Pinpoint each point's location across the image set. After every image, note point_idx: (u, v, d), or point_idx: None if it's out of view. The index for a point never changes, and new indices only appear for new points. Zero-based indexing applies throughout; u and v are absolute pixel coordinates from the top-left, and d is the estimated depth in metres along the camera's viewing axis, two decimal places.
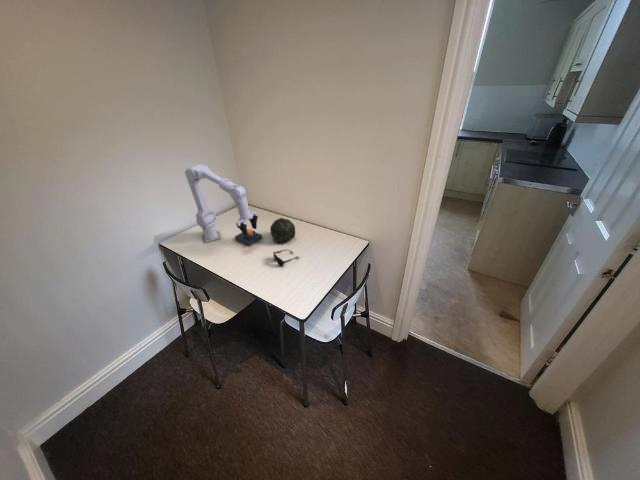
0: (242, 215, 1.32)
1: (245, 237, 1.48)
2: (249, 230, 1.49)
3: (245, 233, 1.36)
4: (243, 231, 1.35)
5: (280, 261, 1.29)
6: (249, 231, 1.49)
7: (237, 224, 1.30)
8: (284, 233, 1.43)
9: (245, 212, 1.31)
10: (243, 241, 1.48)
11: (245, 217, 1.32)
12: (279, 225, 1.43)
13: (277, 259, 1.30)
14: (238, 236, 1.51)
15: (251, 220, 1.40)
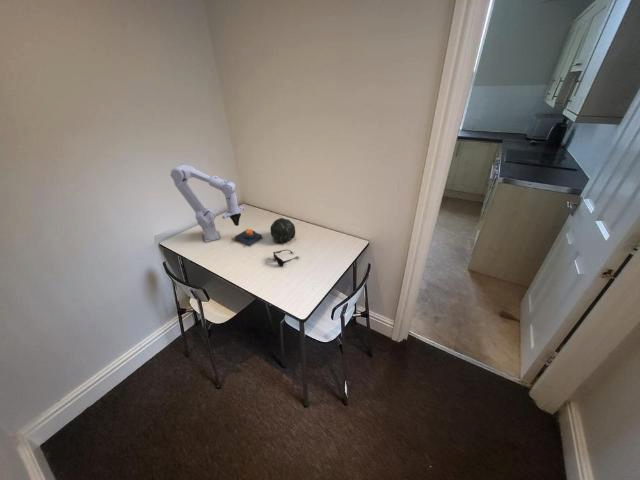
0: (230, 209, 1.40)
1: (245, 237, 1.48)
2: (249, 230, 1.49)
3: (235, 223, 1.47)
4: (234, 221, 1.47)
5: (280, 261, 1.29)
6: (249, 231, 1.49)
7: (223, 217, 1.39)
8: (284, 233, 1.43)
9: (233, 207, 1.39)
10: (243, 241, 1.48)
11: (232, 211, 1.41)
12: (279, 225, 1.43)
13: (277, 259, 1.30)
14: (238, 236, 1.51)
15: None
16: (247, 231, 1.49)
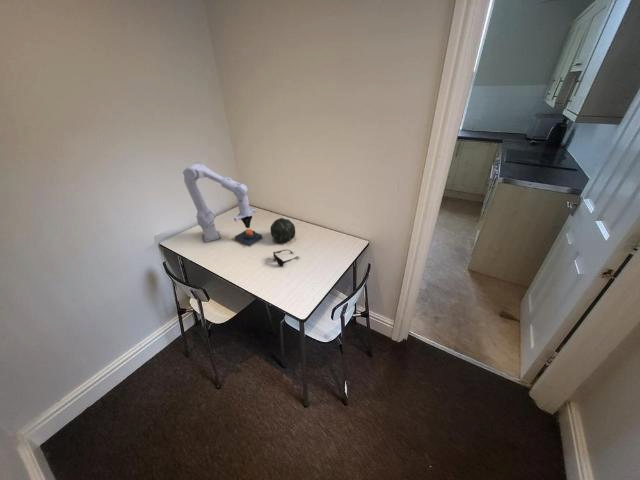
0: (241, 211, 1.39)
1: (245, 237, 1.48)
2: (249, 230, 1.49)
3: (246, 226, 1.46)
4: (245, 223, 1.46)
5: (280, 261, 1.29)
6: (249, 231, 1.49)
7: (235, 219, 1.38)
8: (284, 233, 1.43)
9: (244, 209, 1.39)
10: (243, 241, 1.48)
11: (244, 214, 1.40)
12: (279, 225, 1.43)
13: (277, 259, 1.30)
14: (238, 236, 1.51)
15: None
16: (247, 231, 1.49)
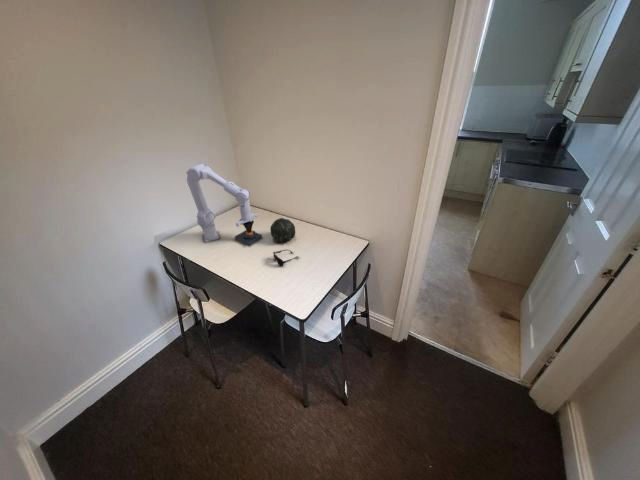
0: (243, 217, 1.41)
1: (245, 237, 1.48)
2: None
3: (248, 230, 1.48)
4: (247, 228, 1.48)
5: (280, 261, 1.29)
6: None
7: (237, 224, 1.40)
8: (284, 233, 1.43)
9: (246, 214, 1.40)
10: (243, 241, 1.48)
11: (245, 219, 1.42)
12: (279, 225, 1.43)
13: (277, 259, 1.30)
14: (238, 236, 1.51)
15: None
16: (247, 232, 1.49)
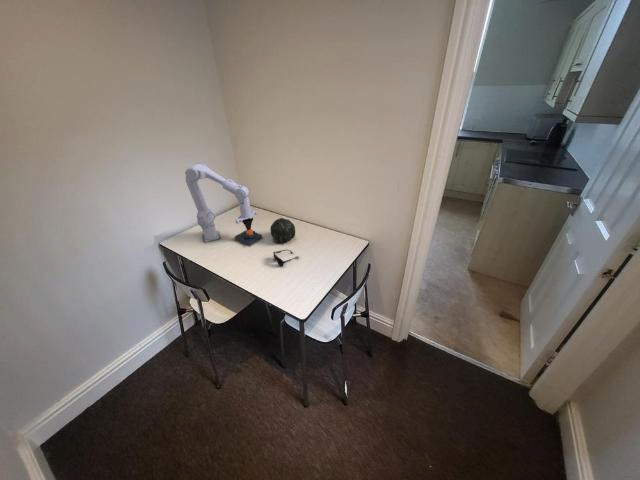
0: (242, 214, 1.40)
1: (245, 237, 1.48)
2: (249, 230, 1.49)
3: (247, 228, 1.47)
4: (246, 225, 1.47)
5: (280, 261, 1.29)
6: (249, 231, 1.49)
7: (236, 221, 1.39)
8: (284, 233, 1.43)
9: (246, 212, 1.39)
10: (243, 241, 1.48)
11: (245, 216, 1.41)
12: (279, 225, 1.43)
13: (277, 259, 1.30)
14: (238, 236, 1.51)
15: None
16: (247, 231, 1.49)
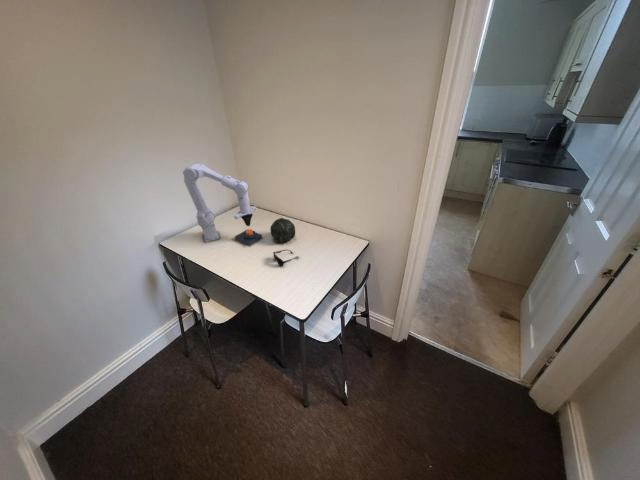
0: (242, 209, 1.39)
1: (245, 237, 1.48)
2: (249, 230, 1.49)
3: (247, 224, 1.45)
4: (245, 221, 1.45)
5: (280, 261, 1.29)
6: (249, 231, 1.49)
7: (235, 217, 1.37)
8: (284, 233, 1.43)
9: (245, 207, 1.38)
10: (243, 241, 1.48)
11: (244, 212, 1.39)
12: (279, 225, 1.43)
13: (277, 259, 1.30)
14: (238, 236, 1.51)
15: None
16: (247, 231, 1.49)
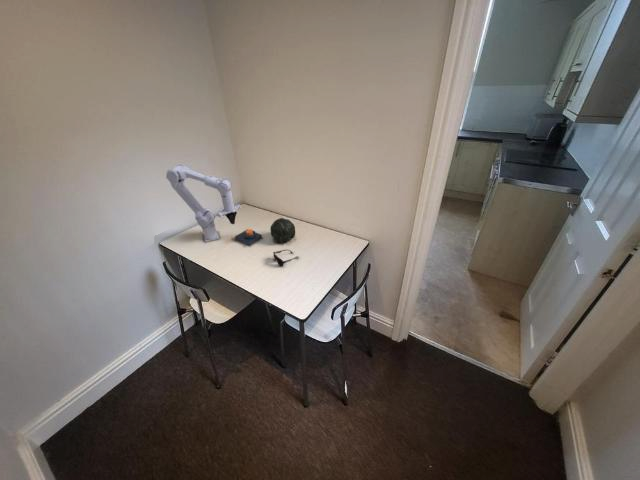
0: (225, 207, 1.39)
1: (245, 237, 1.48)
2: (249, 230, 1.49)
3: (231, 222, 1.46)
4: (230, 220, 1.46)
5: (280, 261, 1.29)
6: (249, 231, 1.49)
7: (219, 215, 1.38)
8: (284, 233, 1.43)
9: (228, 205, 1.39)
10: (243, 241, 1.48)
11: (228, 210, 1.40)
12: (279, 225, 1.43)
13: (277, 259, 1.30)
14: (238, 236, 1.51)
15: None
16: (247, 231, 1.49)
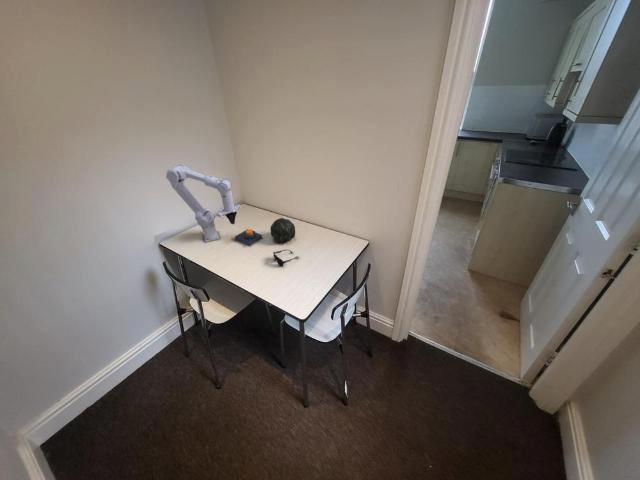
0: (225, 207, 1.39)
1: (245, 237, 1.48)
2: (249, 230, 1.49)
3: (231, 222, 1.46)
4: (230, 220, 1.46)
5: (280, 261, 1.29)
6: (249, 231, 1.49)
7: (219, 215, 1.38)
8: (284, 233, 1.43)
9: (228, 205, 1.39)
10: (243, 241, 1.48)
11: (228, 210, 1.40)
12: (279, 225, 1.43)
13: (277, 259, 1.30)
14: (238, 236, 1.51)
15: None
16: (247, 231, 1.49)
